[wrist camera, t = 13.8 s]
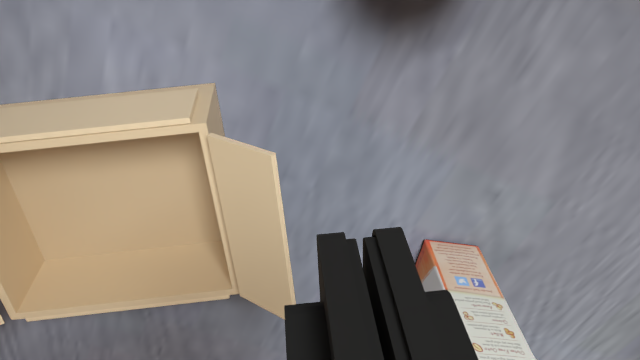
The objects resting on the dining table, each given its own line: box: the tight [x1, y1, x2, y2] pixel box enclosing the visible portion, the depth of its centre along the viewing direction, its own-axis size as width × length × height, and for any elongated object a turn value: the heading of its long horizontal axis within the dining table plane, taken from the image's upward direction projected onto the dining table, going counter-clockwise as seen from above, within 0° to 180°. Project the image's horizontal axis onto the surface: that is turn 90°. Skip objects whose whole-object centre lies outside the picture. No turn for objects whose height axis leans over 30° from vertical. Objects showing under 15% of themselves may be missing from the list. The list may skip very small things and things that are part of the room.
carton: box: [0, 83, 240, 322], centre depth 42 cm, size 16×18×7 cm
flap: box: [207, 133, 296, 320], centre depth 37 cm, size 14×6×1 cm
